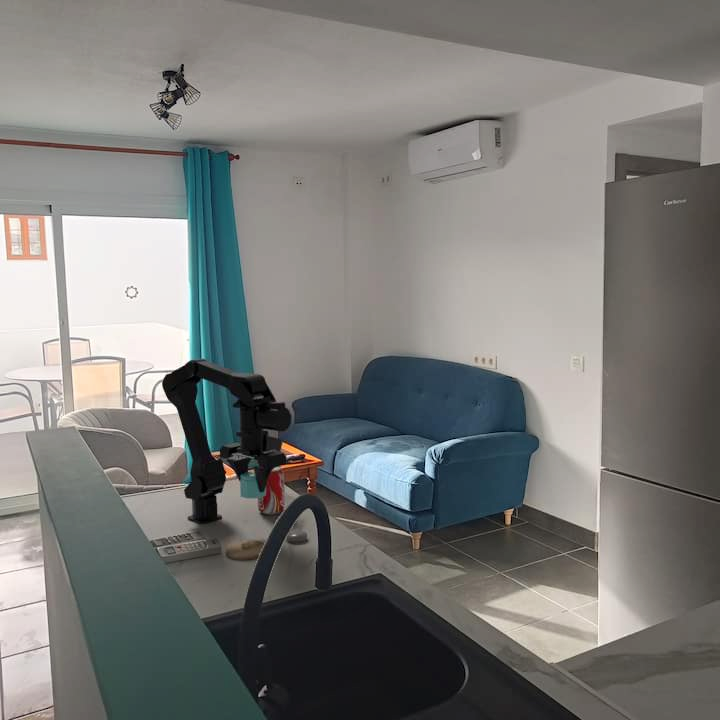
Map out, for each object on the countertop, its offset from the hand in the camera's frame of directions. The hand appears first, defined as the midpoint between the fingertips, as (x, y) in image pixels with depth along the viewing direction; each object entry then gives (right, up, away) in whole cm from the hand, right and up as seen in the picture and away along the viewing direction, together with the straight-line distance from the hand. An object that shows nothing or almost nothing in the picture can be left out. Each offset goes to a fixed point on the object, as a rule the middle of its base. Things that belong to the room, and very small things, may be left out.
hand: (253, 489), depth 175 cm
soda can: (+2, -9, +16) cm, 19 cm away
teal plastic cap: (0, -1, 0) cm, 1 cm away
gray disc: (+11, -11, -4) cm, 16 cm away
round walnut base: (0, -12, -12) cm, 17 cm away
